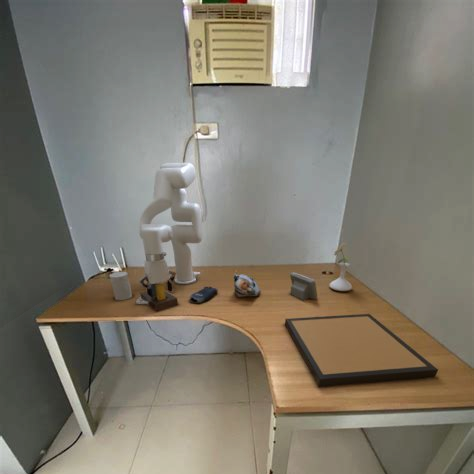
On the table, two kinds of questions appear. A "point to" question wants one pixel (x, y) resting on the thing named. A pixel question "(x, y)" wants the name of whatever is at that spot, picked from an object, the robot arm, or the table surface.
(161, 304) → the stand
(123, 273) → the cup
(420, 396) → the table surface
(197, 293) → the electronic device
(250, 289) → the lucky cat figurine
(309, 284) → the digital clock
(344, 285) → the flower in vase
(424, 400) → the table surface
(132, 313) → the table surface
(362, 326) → the cork board
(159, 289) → the mustard peg
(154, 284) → the blue peg
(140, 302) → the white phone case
